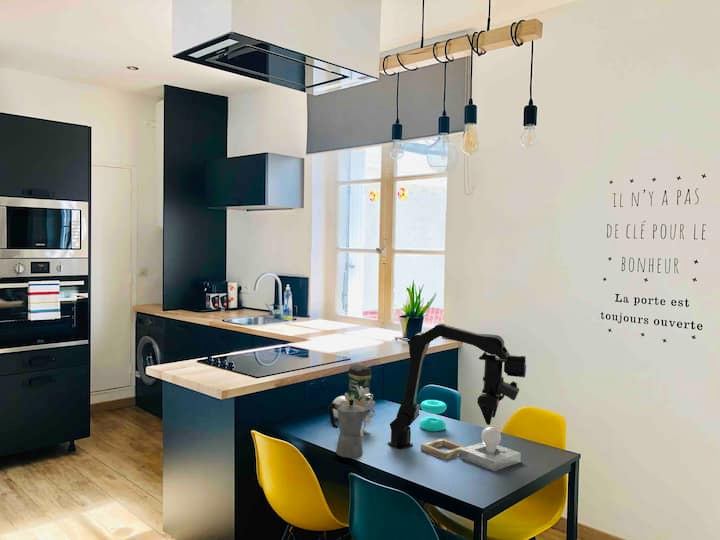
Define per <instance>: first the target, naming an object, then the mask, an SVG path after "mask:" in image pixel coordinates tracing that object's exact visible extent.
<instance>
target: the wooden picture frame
mask: <svg viewBox="0 0 720 540" xmlns="http://www.w3.org/2000/svg"><path fill="white" fill-rule="evenodd" d="M440 447H444V448H447V449H448V450H445V451H444V450H442V449H439V448H440ZM465 447H466V446H465V445H462V444H460V443H457V442H453V441H450V440H449V439H446V438H439V439H436V440H432V441H428V442H425V443H421V444H420V450H421V451H422V452H424V453H427V454H429V455H431V456H434V457H437V458H440V459H442V460H444V461H446V460H450V459H453V458H455V457H458V456H459V457H460V449H461V448H465Z"/></svg>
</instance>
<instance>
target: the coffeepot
mask: <svg viewBox="0 0 720 540" xmlns="http://www.w3.org/2000/svg"><path fill="white" fill-rule="evenodd" d="M353 402H354V400H352V399H350V400H349V405H341V404H335V403H333V402H331V403H330V405H329V406H328V407H327V411H328V416H329V420H330V424H331V427H332V428H334V429H338V428H339V429H340V430H339V431H340V432H339V435H338V439H337V440H338V441H337V445H336V449H335V450H336V451H335V454H336V455H337V456H340V457H341V458H349V459H350V458H351V459H352V458H358V457H361V456H362V455H363V452H364V451H363V442H362V436H361V434H360V430H361V428H362V425H363V423H364V421H363V420H364V418H365V417H366V416H367V415H370V412H369V410H364V409H365V408H364V407H361V406H358V405H353ZM333 409H336V410H338V418H337V419H338V425H337V424H336V423H335V422H336V420H335V416H334V414H333Z"/></svg>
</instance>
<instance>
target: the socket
mask: <svg viewBox="0 0 720 540" xmlns="http://www.w3.org/2000/svg"><path fill="white" fill-rule="evenodd" d="M521 456H522V454H521V452H519V451H516V450H513V449H510V448H509V447H505V446H501V445H499V444H498V445H497V447H496V450H495V453H494V456H493V457H492V456H489V455H487V454H486V448H485V444H484V443H483V441H482V442H478V443H475V444H472V445H471V444H470V445H468V446H465V448H461V449H460V455H459V459H462V460H464V461H467V462H469V463H472V464H475V465H478V466H480V467H482V468H485V469H487V470H490V471H493V472H497V471H499V470H501V469H504V468H508V467H510V466H513V465H516V464H518V463H521V458H522V457H521Z"/></svg>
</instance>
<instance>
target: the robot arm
mask: <svg viewBox="0 0 720 540" xmlns="http://www.w3.org/2000/svg"><path fill="white" fill-rule="evenodd" d="M439 337H443V338H446V339H448V340H449V339H450V340H452V341H456V342H460V343H465V344H467V345H469V346H470V345H471V346H474V347H477V348H478V349H479V350H481V351H483V353H482V354H481V355H480V356H479V357H478V359H479V360H481V361H482V360H483V361H484V370H483V376H482V381H483V389H482V390H481V392H482V393H481V394H480V395H479V396H478V397H477V402H476V403H477V405H478V407H479V409H480V411H481V413H482V416H483V419H484V421H485V424H486V425H488V426H490V425H491V422H492V418H495V417H496V414H497V410H498V407H499V403H500V401H502V400H504V398H505V397H507V398H509V399H510V400H512V401H515V400H516V399H517V396H518V394H519V392H520V389H519V387H518V383H517V382H515V381H511V382H510V383H509V382H505V381H504V380H505V379H504V377H503V373H505V374H506V376H507V377H516V378H526V376H527V375H526V373H527V363H526V362H527V360H526V357H527V356H525V355H513V354H510V353H509V350H508V349H507V348H506V346H505V341H504V339H503V337H502V336H500V335H498V334H489V333H488V334H487V333H476V332H472V331H468V330H465V329H462V328H458V327H454V326H451V325H447V324H445V323H443V322H441V323H437V324H436V325H435V326H434V327H432V328H431V329H429V330H427V331H426V332H418V333H416V334H414V335H413V336H411V337H410V338H409V341H408V347H409V348H408V349H409V350H408V351H409V360H410V361H409V364H408V365H409V366H408V372H407V378H406V384H405V390H404V395H403V400H402V401H401V404H400V405H399V408H398V411H397V413H396V418H395V419H393V420H392V421H391V422H390V423H389V427H390V432H391V433H390V441H388V442H387V444H388V446H389V445H390V446H391V447H394V448H396V449H399V450H402V449H405V448H410V447H412V446H413V445H414V444H413V443H411V438H412V437H411V433H412V431H411V425H412V424H413V423H414V422H415V421H416V420H417V418H418V417H419V416H420V409H421V403H420V404H419V403H418V401H417V396H418V390H419V383H420V378H421V374H422V373H421V372H422V366H423V361H424V358H425V356H426V354H427V351H428V349H429V346H430V343H431V342H432V341H434V340H436V339H437V338H439Z"/></svg>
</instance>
